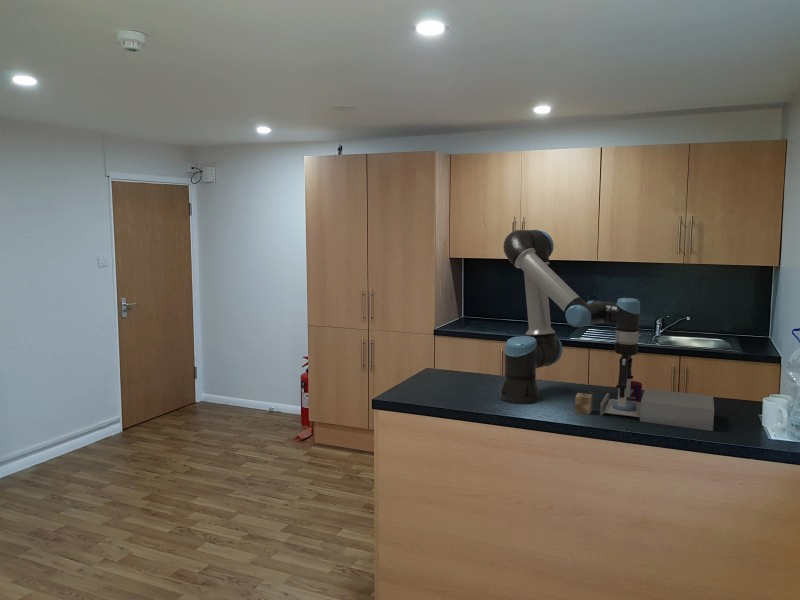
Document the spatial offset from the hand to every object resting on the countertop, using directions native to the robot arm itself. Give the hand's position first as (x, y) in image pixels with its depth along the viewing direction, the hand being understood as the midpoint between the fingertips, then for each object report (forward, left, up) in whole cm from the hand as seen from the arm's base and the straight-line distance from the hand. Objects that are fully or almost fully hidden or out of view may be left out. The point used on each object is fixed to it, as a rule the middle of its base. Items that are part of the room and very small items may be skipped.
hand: (623, 401), depth 215 cm
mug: (+1, +19, -4) cm, 19 cm away
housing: (+17, 0, -4) cm, 18 cm away
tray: (+2, 0, -4) cm, 4 cm away
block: (-13, -6, -4) cm, 15 cm away
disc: (0, 0, -2) cm, 2 cm away
